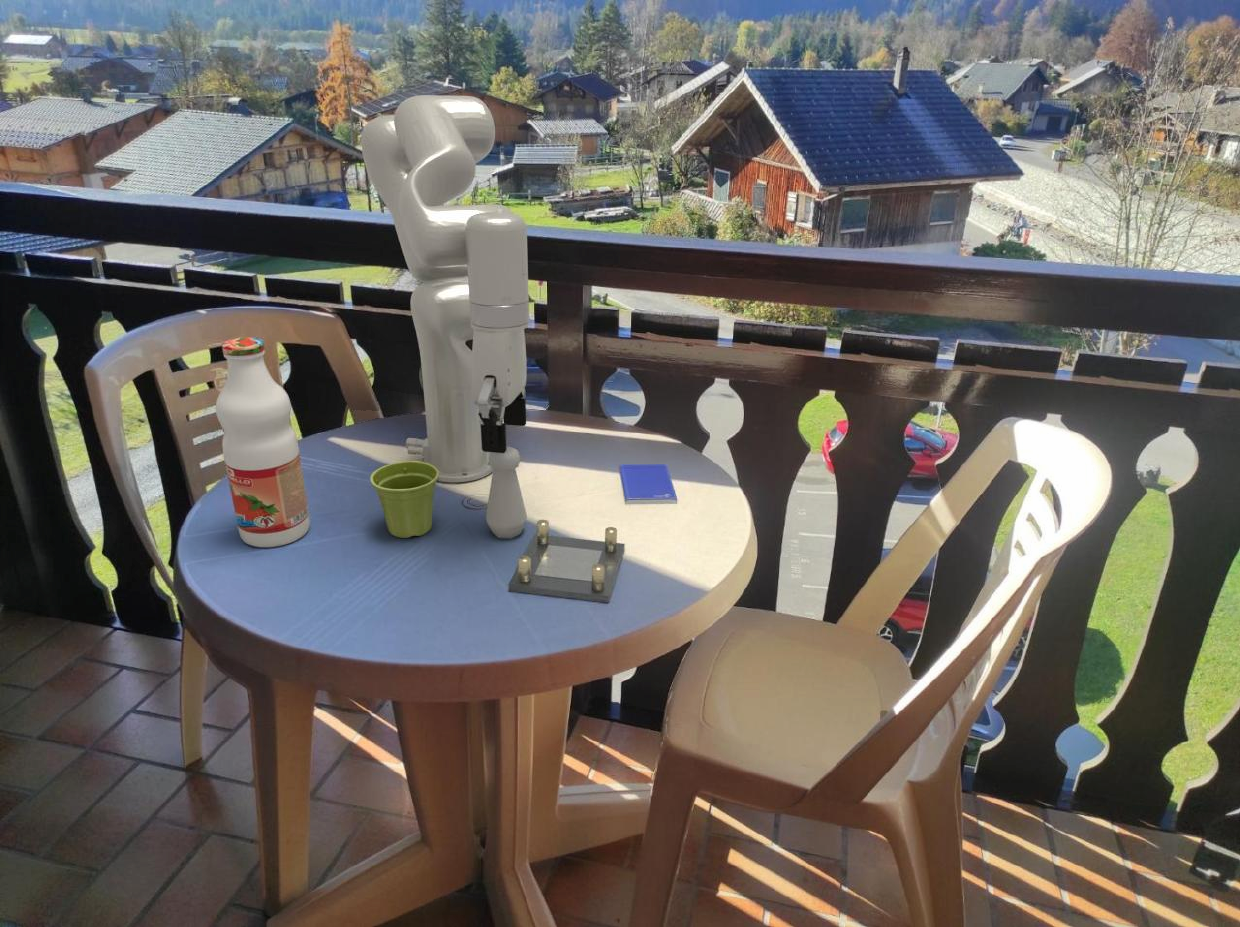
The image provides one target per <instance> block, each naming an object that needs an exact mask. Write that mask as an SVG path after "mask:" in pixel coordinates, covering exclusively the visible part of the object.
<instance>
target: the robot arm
mask: <svg viewBox="0 0 1240 927" xmlns="http://www.w3.org/2000/svg"><path fill="white" fill-rule="evenodd" d="M360 138H361V139H360V143H361V152H362V153H361V154H362V158H363V161H364V162H363V163H364V165H365V168H366V171H367V174H368V177H369V179H370V182H371V184H372V185H373V187H374V189H375V191H376V192H377V194H378V196H379V197H380V198H381V200H382V201H383V203H384V205H386V208H387V209H388V211H389V213H390V215H391V218H392V221H393V223H394V228H395V231H396V234H397V237H398V241H399V243H400V247H401V250H402V254H403V256H404V261H405V263H406V265H407V268H408V270H409V272H410V274H411V275H412V277H413V278H414V279H416V280H417V281H418V282H421V283H420V284H419V285H417V286H416V287H415V288H414V290H413V291H412V294H411V296H410V312H411V316H412V317H411V318H412V321H413V325H414V329H415V332H416V338H417V343H418V348H419V355H420V364H421V365H420V366H421V373H422V374H421V375H422V376H421V377H422V383H423V384H422V387H423V397H424V409H425V422H426V424H425V425H426V434H427V435H426V436H427V437H426V438H424V439H421V438H420V439H419V438H415V437H408V438H407V439H406V442H405V447H406V451H407V454H408V455H417V456H418V455H420V456H421V457H422V458H421V459H420V461H419V462H424V463H428V464H431V465H433V466H434V467H436V468H437V469H438V471H439V476H438V479H437V480H436V482H437V481H438V482H441V483H452V484H453V483H455V484H456V483H466V482H472V481H476V480H480V479H482V478H485V477H486V476H488V475H490V474H492V473H493V468H491V466H490V464H489V454H490V452H494V453H505V452H506V450H507V447H508V446H507V430H506V427H507V426H514V427H525V426H526V424H527V400H526V394H527V392H526V389H525V387H526V384H527V375H528V374H527V371H528V370H527V368H528V367H527V362H528V361H527V349H526V335H525V334H526V333H525V329H527V328H529V327H530V303H529V302H530V300H529V298H530V297H529V270H528V269H529V267H528V266H529V264H528V262H529V261H528V260H529V259H528V230H527V223H526V221H525V220H524V218H523V217H522V216H520V215H518V214H516V213H513V211H512V210H511V209H510V208H509V207H507V206H505V205H503V204H502V205H501V204H497V203H495V204H491V203H490V204H462V205H461V204H460V205H459V204H455V205H451V204H450V205H444V204H445V203H448V202H449V201H452V200H454V199H456V198H458V197H460V196H461V195H462V194H464V192H466V191H467V190H468V189H469V188H470V187H471V185H472V183H473V182H474V179H475V176H476V172H477V171H476V169H477V167H476V166H477V165H476V164H478V163H479V162H481V161H482V160H483V159H485V158H486V157H487V156H488V155H489V154H490V153H491V151H492V150H493V147H494V144H495V139H496V126H495V120H494V118H493V115H492V111H491V110H490V108H489V107H488V106H487V104H486V103H485V102H484V101H483V100H481V99H480V98H478V97H476V96H470V95H450V94H449V95H441V94H440V95H438V94H437V95H436V94H435V95H434V94H422V95H421V94H420V95H413V96H410V97H409V98H406V99H405V100H403V101H402V102H400V104H399V105H398V106H397V107H396V109H395V112H394V114H390V115H384V116H379V117H376V118H373V119H371V120H370V121H368V122H367V123H366V124H365V126H364V127H363V128H362V132H361V137H360ZM470 340H472V349H470V348H469V346H467V345H466V342H467V341H470ZM493 399H495V400H493ZM492 408H493V409H492ZM494 408H497V412H496V411H495V409H494Z"/></svg>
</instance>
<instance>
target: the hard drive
mask: <svg viewBox="0 0 1240 927" xmlns="http://www.w3.org/2000/svg"><path fill="white" fill-rule="evenodd" d="M618 472H619V476H620V482H621V489H622V492H623V498H624V503H625V505H665V504H666V505H671V504H672V505H673V504H674V505H675V504H676V505H677V504H678V497H677V494H676V490H675V487H674V484H673V480H672V478H671V475H670V472H669V469H668V465H666V464H655V463H654V464H653V463H652V464H620V465H619V467H618Z"/></svg>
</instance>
